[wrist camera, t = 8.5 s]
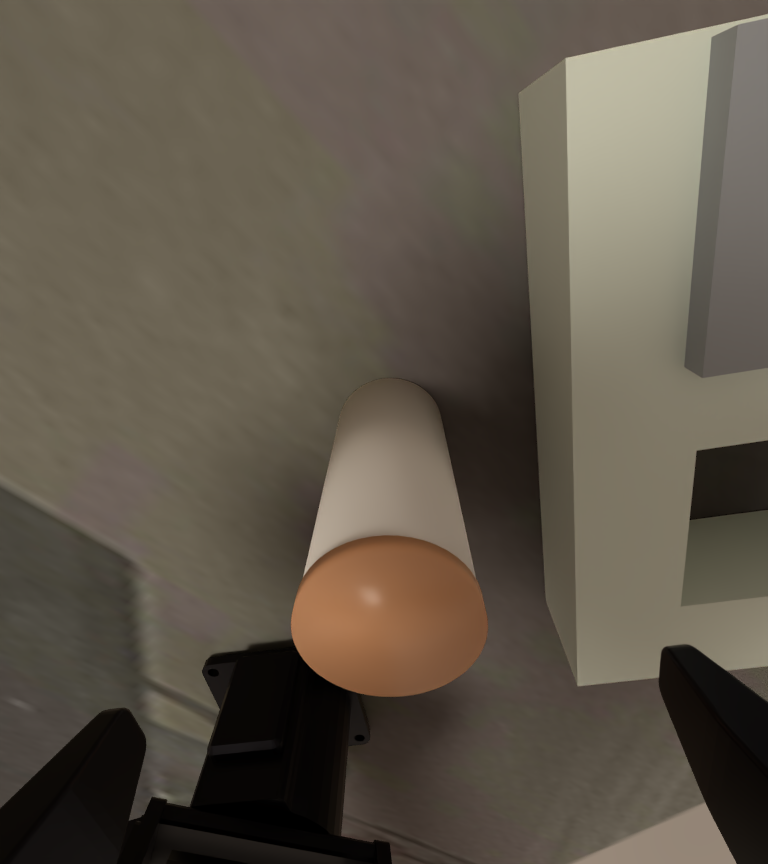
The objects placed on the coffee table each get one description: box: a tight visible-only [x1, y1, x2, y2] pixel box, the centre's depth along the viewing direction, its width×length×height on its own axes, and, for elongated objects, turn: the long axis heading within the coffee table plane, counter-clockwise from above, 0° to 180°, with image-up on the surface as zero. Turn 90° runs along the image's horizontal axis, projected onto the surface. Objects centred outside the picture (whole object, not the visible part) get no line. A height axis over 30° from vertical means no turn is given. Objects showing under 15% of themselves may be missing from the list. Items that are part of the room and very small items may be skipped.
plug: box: [291, 378, 488, 697], centre depth 13 cm, size 4×4×9 cm
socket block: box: [518, 14, 768, 686], centre depth 15 cm, size 18×12×4 cm, turn 10°
